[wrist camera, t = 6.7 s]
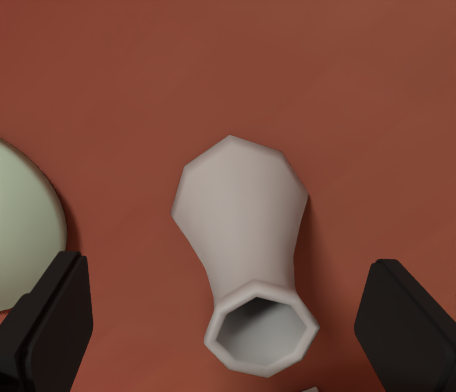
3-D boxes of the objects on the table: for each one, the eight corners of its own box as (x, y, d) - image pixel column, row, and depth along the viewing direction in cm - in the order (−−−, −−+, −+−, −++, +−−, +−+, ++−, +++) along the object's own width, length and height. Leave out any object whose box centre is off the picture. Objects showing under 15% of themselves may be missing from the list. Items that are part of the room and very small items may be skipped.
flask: (249, 277, 21) (277, 450, 12) (148, 214, 19) (87, 360, 10) (330, 188, 19) (439, 312, 10) (225, 108, 17) (239, 169, 8)
